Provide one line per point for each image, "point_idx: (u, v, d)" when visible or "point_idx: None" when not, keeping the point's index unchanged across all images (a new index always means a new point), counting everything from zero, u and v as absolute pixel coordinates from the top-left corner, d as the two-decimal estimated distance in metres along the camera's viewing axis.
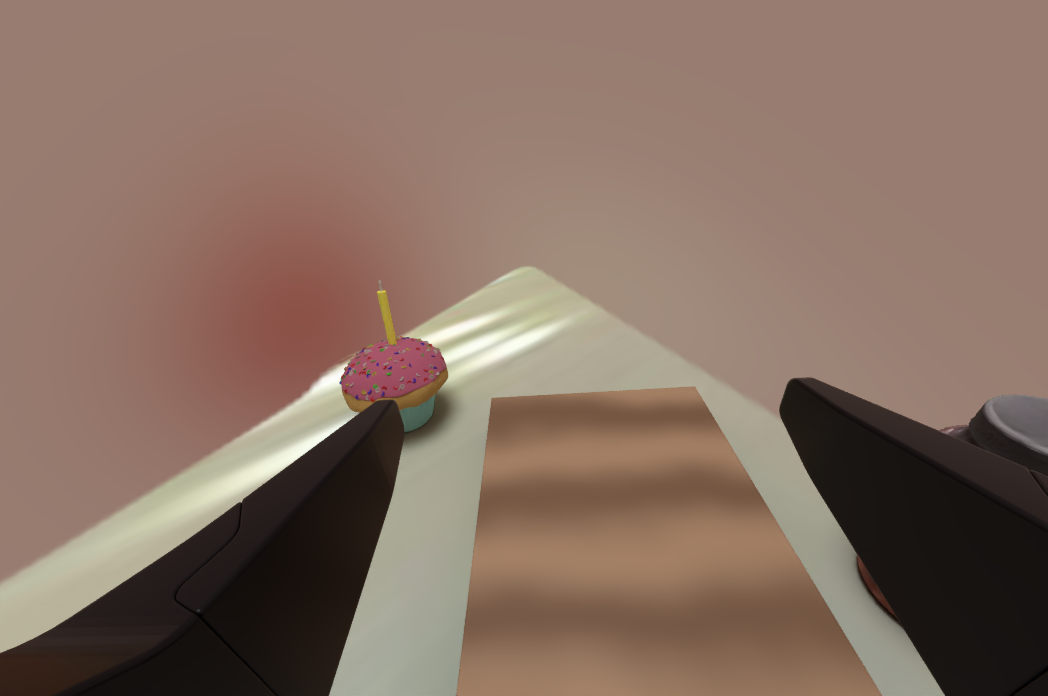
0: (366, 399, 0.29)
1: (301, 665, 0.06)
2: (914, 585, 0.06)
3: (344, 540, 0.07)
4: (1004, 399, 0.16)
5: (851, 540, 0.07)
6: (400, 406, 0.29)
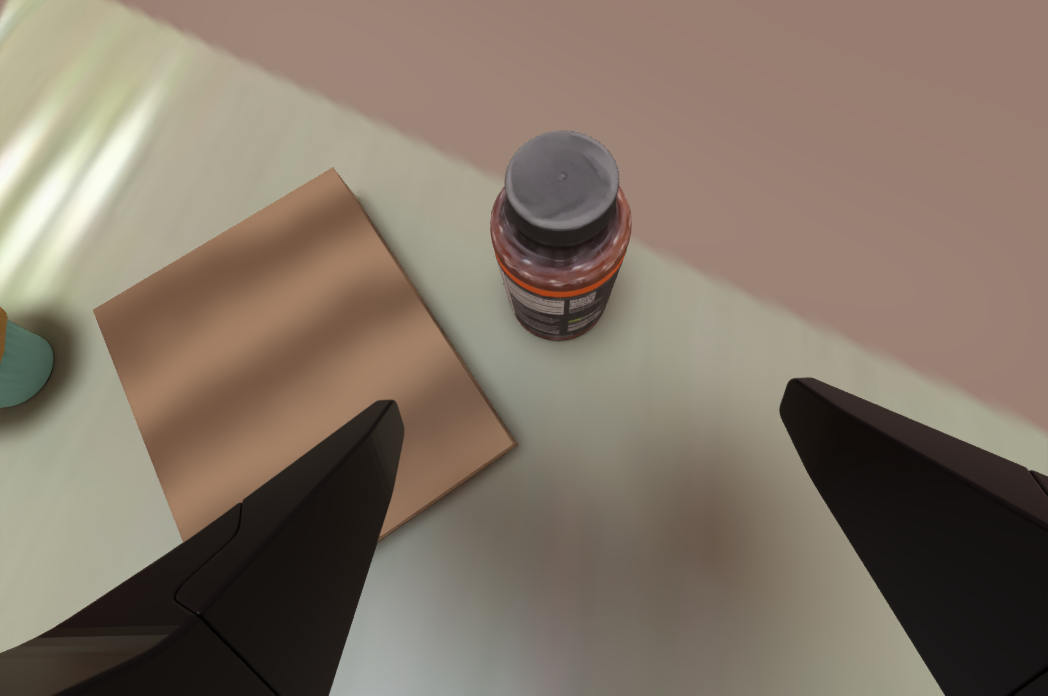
0: None
1: (301, 665, 0.06)
2: (914, 585, 0.06)
3: (344, 540, 0.07)
4: (524, 152, 0.14)
5: (851, 540, 0.07)
6: None
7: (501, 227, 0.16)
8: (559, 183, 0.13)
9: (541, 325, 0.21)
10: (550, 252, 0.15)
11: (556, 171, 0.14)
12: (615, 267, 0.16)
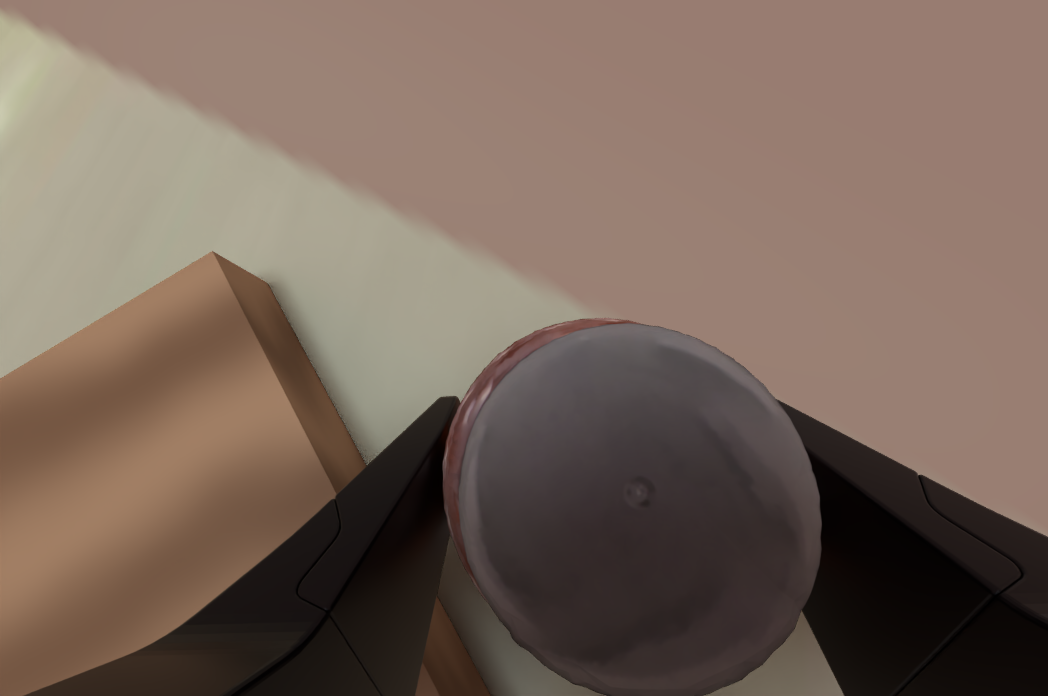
0: None
1: (397, 663, 0.06)
2: (818, 588, 0.06)
3: (426, 537, 0.07)
4: (517, 398, 0.05)
5: None
6: None
7: None
8: (629, 521, 0.04)
9: None
10: None
11: (618, 473, 0.04)
12: None
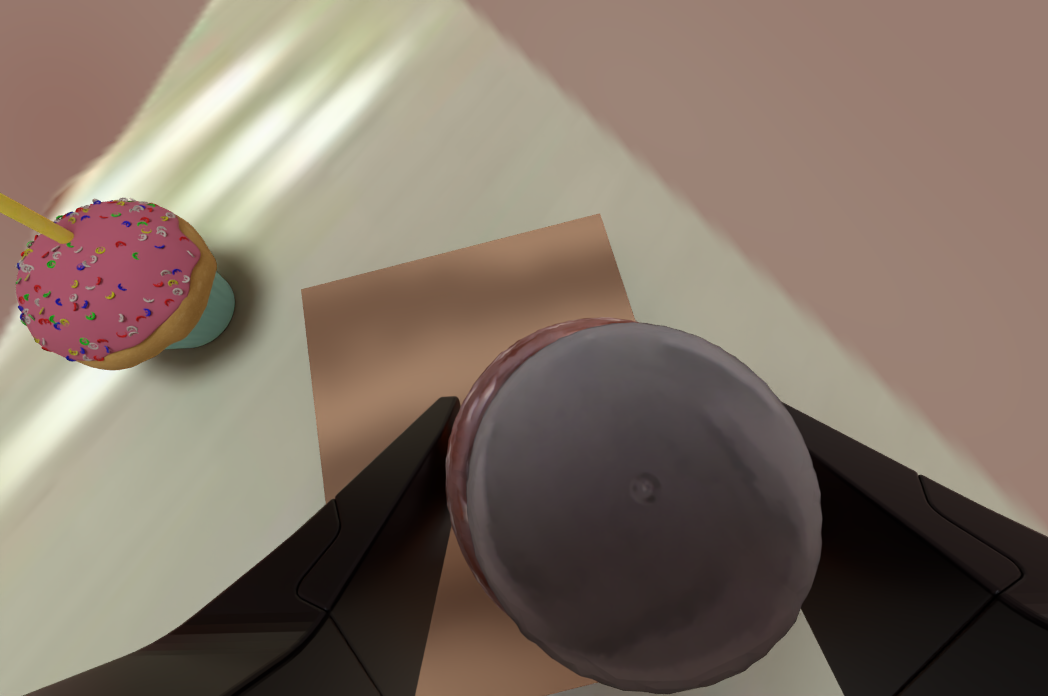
0: (88, 359, 0.18)
1: (397, 663, 0.06)
2: (818, 588, 0.06)
3: (426, 537, 0.07)
4: (524, 395, 0.05)
5: None
6: (155, 350, 0.19)
7: (466, 508, 0.06)
8: (635, 517, 0.04)
9: None
10: None
11: (624, 469, 0.04)
12: None
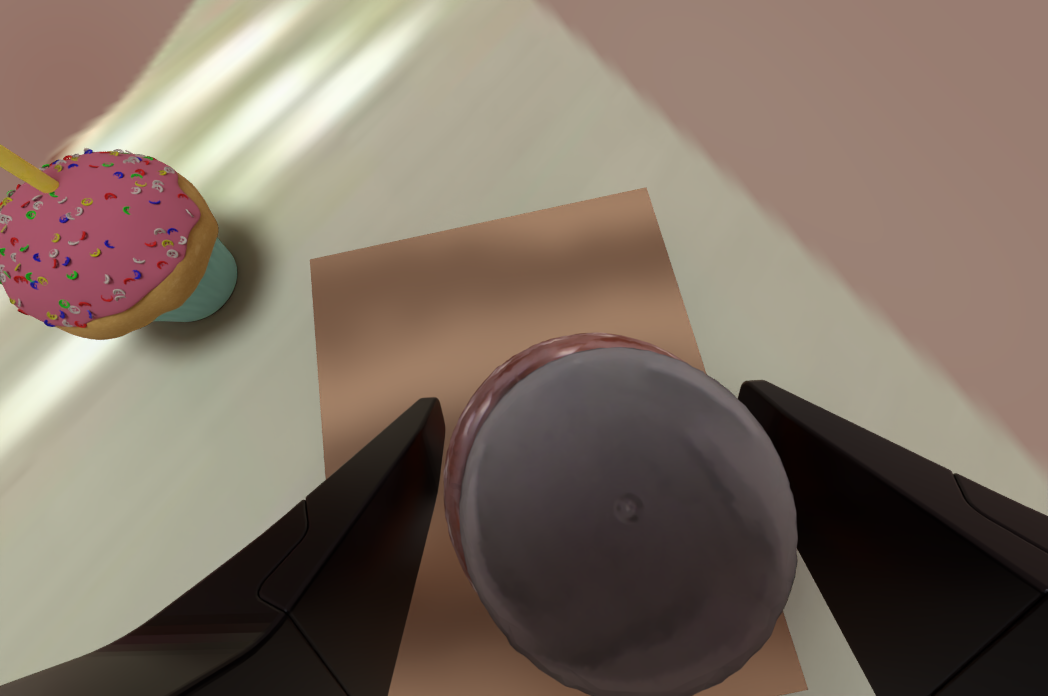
0: (69, 325, 0.16)
1: (367, 664, 0.06)
2: (848, 587, 0.06)
3: (400, 538, 0.07)
4: (514, 418, 0.05)
5: None
6: (144, 319, 0.17)
7: None
8: (619, 535, 0.04)
9: None
10: None
11: (609, 490, 0.05)
12: None
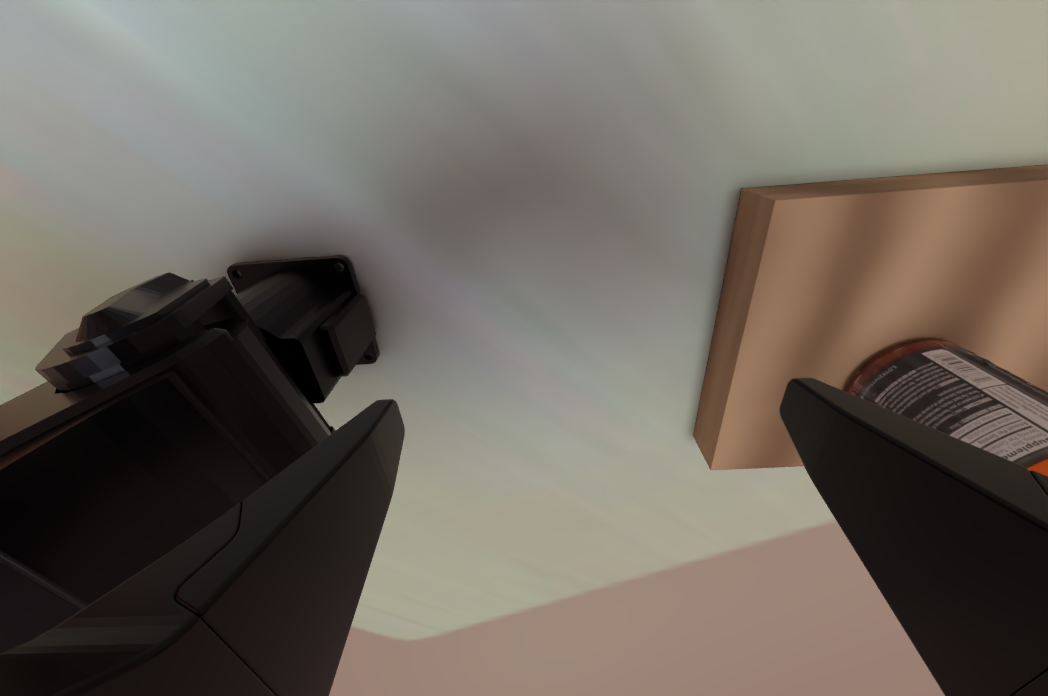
0: None
1: (301, 665, 0.06)
2: (914, 585, 0.06)
3: (344, 540, 0.07)
4: None
5: (851, 540, 0.07)
6: None
7: None
8: None
9: (907, 400, 0.18)
10: None
11: None
12: None
